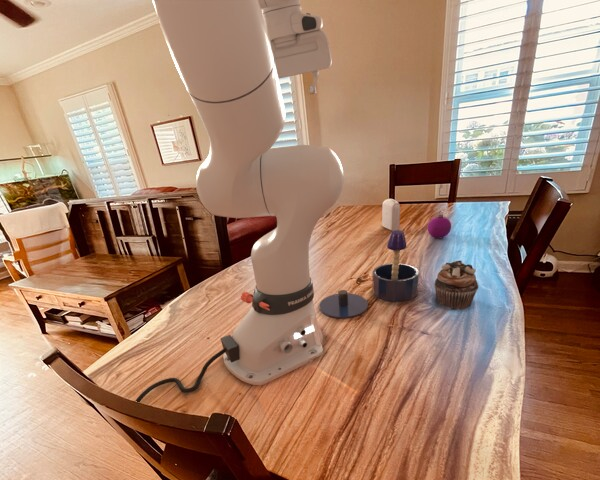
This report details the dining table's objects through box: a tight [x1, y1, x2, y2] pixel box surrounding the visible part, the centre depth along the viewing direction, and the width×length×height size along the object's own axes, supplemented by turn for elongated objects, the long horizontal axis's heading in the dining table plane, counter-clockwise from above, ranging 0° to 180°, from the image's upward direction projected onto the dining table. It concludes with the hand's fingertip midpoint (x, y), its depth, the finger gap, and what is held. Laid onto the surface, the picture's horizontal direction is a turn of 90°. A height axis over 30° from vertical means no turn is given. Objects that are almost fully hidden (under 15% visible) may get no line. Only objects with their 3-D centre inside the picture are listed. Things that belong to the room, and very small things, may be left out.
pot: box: [371, 263, 420, 303], centre depth 83 cm, size 11×11×6 cm
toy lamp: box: [386, 229, 407, 280], centre depth 80 cm, size 5×5×17 cm
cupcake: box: [434, 260, 480, 311], centre depth 75 cm, size 10×10×10 cm
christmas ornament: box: [427, 211, 452, 239], centre depth 118 cm, size 8×8×10 cm
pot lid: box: [318, 289, 369, 320], centre depth 79 cm, size 12×12×5 cm
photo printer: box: [381, 198, 401, 232], centre depth 135 cm, size 10×4×12 cm, turn 12°
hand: (295, 97), depth 80 cm, fingers open, 8 cm apart
